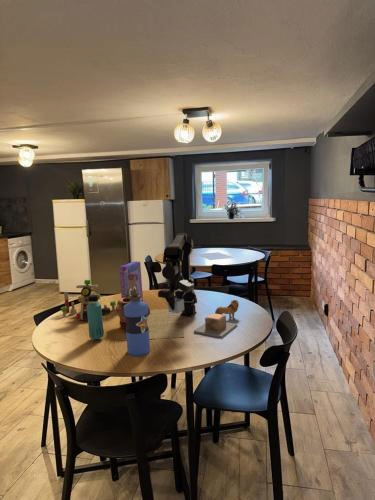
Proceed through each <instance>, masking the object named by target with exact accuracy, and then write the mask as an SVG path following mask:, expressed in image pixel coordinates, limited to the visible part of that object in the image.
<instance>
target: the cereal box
mask: <svg viewBox="0 0 375 500" xmlns="http://www.w3.org/2000/svg"><path fill="white" fill-rule="evenodd" d="M118 268H119V269H118V271H119V282H120V283H119V284H120V294H121V295H120V296H121V299H122V298H128V297H130V296H131V295H130V293H131V292H132V291H133V290H137V291H138V292H139V293H140V294H139V295H140V297H141V299H142V301H143V300H144V297H143V281H142V267H141V261H131V262H129V263H127V264H124V265H121V266H119V267H118Z"/></svg>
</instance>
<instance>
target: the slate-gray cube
mask: <svg viewBox="0 0 375 500" xmlns="http://www.w3.org/2000/svg"><path fill="white" fill-rule="evenodd" d="M167 304H168V303H167ZM167 307H168V313H173V314H174V313H175V314H179V313H180V314H181V313H182V311H183V310H184V299H178V298H175V307H174V310H172V309H171V307H170V306H169V304H168V306H167Z"/></svg>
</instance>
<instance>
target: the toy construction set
mask: <svg viewBox="0 0 375 500" xmlns="http://www.w3.org/2000/svg"><path fill="white" fill-rule="evenodd" d="M83 282H84V284H76V286H75V287H76V289H81V291H80V295H79V296H78V299H77V300H78V302H79V303H80V313H78V311H77V309H76V308H75V302H74V301H71V305H69V304H70V302H69V300H70V299H69V292H68V291H64V292H63V296H64V306H62V307H60V311H61V312H62V317H67V315H66V314H69V315H71V316H74V315H75V317H76V321H77V320H80V321H84V322H88V315H87V305H88V304H89V303H92V302H89V301H88V297H89V296H91V295H97V296H98V301H99V300H100V299H101V293H97V292H95V291H94V289H98V288H99V284H91V279H85V280H84V281H83ZM98 301H94V302H98ZM98 303H99V302H98ZM109 303H110V304H109V305H110V306H111V308H110V307H108V305H107V304H103V308H102V307H101V309H102V315H108V314H109V313H110V312H111V310H112V312H113V311H114V312H115V309H116V306H117V302H116V301H114V300H112V301H110V302H109ZM70 306H71V309H70Z"/></svg>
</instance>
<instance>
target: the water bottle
mask: <svg viewBox="0 0 375 500" xmlns="http://www.w3.org/2000/svg"><path fill="white" fill-rule="evenodd" d="M139 294H140V293H139V292H138V291H137V290H133V291H132V292H131V293H130V295H131V296H130V302H129V303H128V304H126V305H124V315H125V319H126V324H127V326H126V330H125V337H126V348H127V349H126V350H127V354H128V355H129V356H131V357H142V356H146V355H148V354H149V353H150V352H151V344H150V343H151V340H150V330H149V329H150V328H149V324H148V317H149V316H148V307H149V304H148V303H147V302H144V301H143V300H142V301H143V302H142V301H140V300H141V297H140V295H139ZM147 316H148V317H147Z"/></svg>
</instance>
